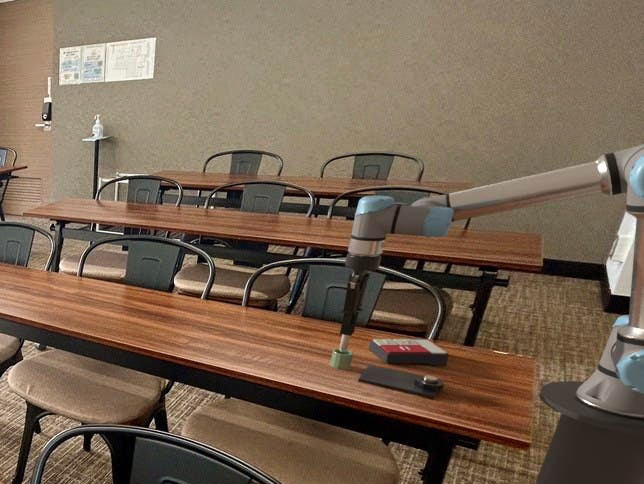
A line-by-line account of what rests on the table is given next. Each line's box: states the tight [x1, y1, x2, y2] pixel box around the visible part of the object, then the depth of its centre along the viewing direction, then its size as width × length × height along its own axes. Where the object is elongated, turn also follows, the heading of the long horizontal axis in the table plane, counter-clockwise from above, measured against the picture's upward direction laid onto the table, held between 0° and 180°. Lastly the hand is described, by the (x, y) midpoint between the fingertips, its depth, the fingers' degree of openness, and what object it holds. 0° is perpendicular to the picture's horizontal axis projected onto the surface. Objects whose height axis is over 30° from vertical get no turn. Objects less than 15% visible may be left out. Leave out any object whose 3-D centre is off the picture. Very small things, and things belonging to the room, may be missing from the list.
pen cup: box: [329, 348, 354, 371], centre depth 168 cm, size 5×5×5 cm
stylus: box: [338, 334, 351, 352], centre depth 165 cm, size 2×2×15 cm
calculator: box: [368, 338, 450, 366], centre depth 171 cm, size 11×4×15 cm
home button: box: [423, 374, 439, 384], centre depth 153 cm, size 3×3×1 cm
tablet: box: [357, 364, 445, 400], centre depth 157 cm, size 17×12×2 cm
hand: (346, 333), depth 165 cm, fingers closed on stylus, 2 cm apart
